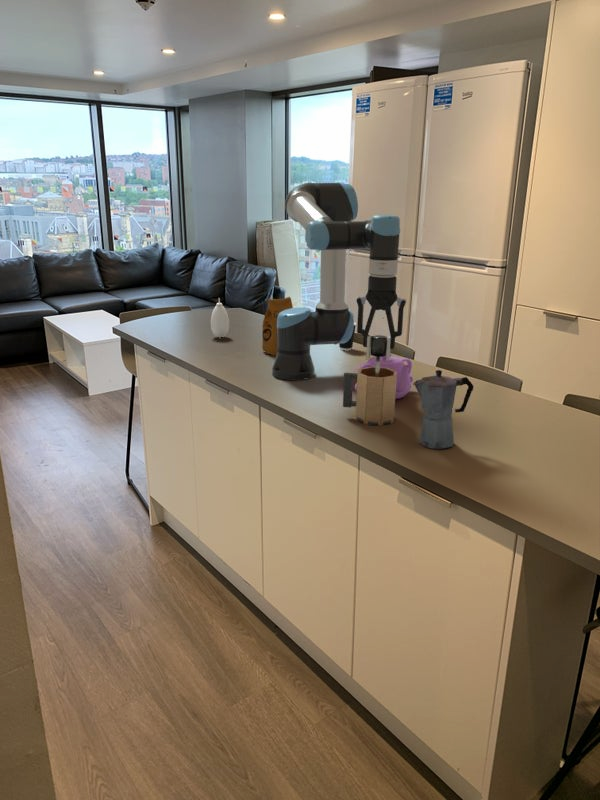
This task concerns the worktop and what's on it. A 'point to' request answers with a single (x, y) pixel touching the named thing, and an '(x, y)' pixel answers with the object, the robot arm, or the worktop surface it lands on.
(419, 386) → the moka pot
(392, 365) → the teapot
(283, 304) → the coffee package
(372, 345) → the plunger
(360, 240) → the robot arm
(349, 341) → the dixie cup
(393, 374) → the wooden slat mug
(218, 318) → the sauce bottle
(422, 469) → the worktop surface
